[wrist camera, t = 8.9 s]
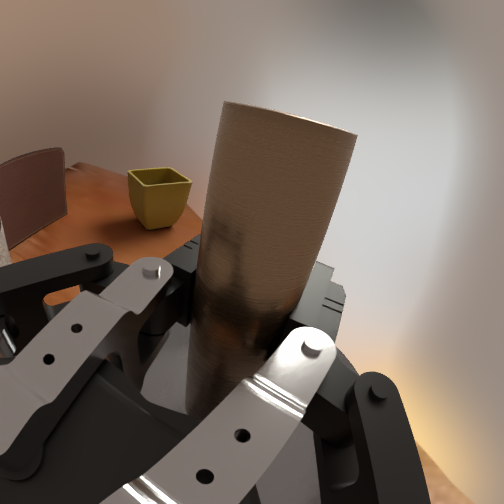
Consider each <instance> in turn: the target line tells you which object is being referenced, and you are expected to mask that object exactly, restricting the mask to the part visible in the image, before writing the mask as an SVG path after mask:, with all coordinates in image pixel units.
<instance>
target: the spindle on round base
mask: <svg viewBox="0 0 504 504" xmlns="http://www.w3.org/2000/svg"><path fill="white" fill-rule="evenodd" d="M356 139H357V135H356V134H353V133H351V132H348V131H346V130H343V129H340V128H336V127H334V126H331V125H328V124H324V123H321V122H318V121H314V120H311V119H307V118H304V117H300V116H296V115H293V114H289V113H285V112H280V111H276V110H272V109H267V108H262V107H257V106H252V105H247V104H241V103H235V102H227V101H224V103H223V108H222V113H221V118H220V123H219V128H218V133H217V138H216V144H215V149H214V155H213V160H212V166H211V172H210V178H209V184H208V190H207V196H206V202H205V209H204V216H203V223H202V230H201V237H200V244H199V252H198V260H197V268H196V276H195V285H194V294H193V303H192V313H191V323H190V324H189V325H188V326H187V327H185V326H183V325H181V324H179V323H177V322H176V323H175V324H174V325H173V326H172V327H171V334H170V336H169V338H168V339H167V341H166V343H165V344H164V346H163V347H162V349H161V350H160V352H159V353H158V355H157V357H156V358H155V360H154V361H153V363H152V364H151V366H150V368H149V369H148V371H147V373H146V375H145V378H144V382H143V387H142V390H141V392H140V393H141V394H142V395H143V397H144V398H145V399H146V400H148V401H149V402H151V403H154V404H157V405H159V406H162V407H165V408H168V409H171V410H174V411H177V412H180V413H183V414H186V415H189V416H192V417H194V418H196V419H197V420H199V421H201V422H202V421H203V420H204V419H205V418H206V417H207V416H208V415H209V414H210V413H211V412H212V411H213V410H214V409H215V408H216V407H217V406H218V405H219V404H220V403H221V402H222V401H223V400H224V399H225V398H226V397H227V396H228V395H229V394H230V393H231V392H232V391H233V390H234V389H235V388H236V386H237V385H238V384H239V383H240V382H241V381H242V380H243V379H245V378H246V377H247V376H251V377H253V376H254V375H255V374H256V373H257V372H258V371H259V370H260V368H261V367H262V366H263V365H264V364H265V363H266V362H267V360H268V359H269V358H270V357H271V356H272V355H273V353H274V352H275V351H276V348H277V346H278V344H279V341H280V339H281V337H282V334H283V332H284V330H285V327H286V325H287V322H288V320H289V318H290V316H291V314H292V312H293V310H294V309H295V308H296V307H297V305H298V304H299V302H300V299H301V297H302V294H303V292H304V289H305V287H306V284H307V282H308V279H309V277H310V274H311V272H312V269H313V266H314V264H315V261H316V259H317V256H318V253H319V250H320V248H321V245H322V242H323V240H324V237H325V234H326V231H327V229H328V226H329V223H330V220H331V217H332V214H333V211H334V209H335V205H336V202H337V200H338V197H339V194H340V191H341V188H342V185H343V182H344V178H345V175H346V172H347V169H348V166H349V163H350V159H351V156H352V153H353V150H354V146H355V143H356ZM336 350H337V353H336V354H337V356H338V358H339V360H340V361H341V362H342V363H343V364H344V365H345V366H346V367H347V368H348V369H350V370H351V371H353V372H354V373H355V374H357V375H358V376H359V374H358V373H357V371H356V370H355V368H354V367H353V365H352V364H351V363H350V362H349V360H348V359H347V358H346V357H345V355H344V354H343V353H342V352H341V351H340V350H339V349H338V348H337V347H336ZM255 484H256V487H257V490H258V494H259V498H260V501H261V504H321V498H320V489H319V480H318V471H317V463H316V455H315V447H314V439H313V431H312V430H310V429H309V428H308V427H307V426H305V425H304V424H303V423H301V422H299V424H298V425H297V427H296V428H295V430H294V431H293V433H292V434H291V436H290V437H289V439H288V440H287V442H286V443H285V444H284V446H283V447H282V449H281V450H280V452H279V453H278V454H277V456H276V457H275V459H274V460H273V461H272V463H271V464H270V465H269V467H268V468H267V469H266V471H265V472H264V473H263V474H262V476H261V477H260V478H259V480H258V481H257V482H256V483H255Z"/></svg>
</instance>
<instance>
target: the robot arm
mask: <svg viewBox="0 0 504 504" xmlns="http://www.w3.org/2000/svg"><path fill="white" fill-rule="evenodd" d="M200 237H201V234H199V235H197V236H196V237H194V238H193V239H191V240H190V241H188V242H187V243H185V244H184V246H181V247H179V248H178V249H176V250H175V251H173V252H172V253H170V254H169V255H167V256H166V257H164V258H163V259H161V258H156V257H145V258H141V259H138V260H136V261H135V262H133V263H132V264H131V265H127V264H123V263H119V262H115V261H113V251H112V249H111V248H110V247H109V246H107V245H104V244H99V243H93V244H87V245H83V246H79V247H75V248H71V249H67V250H62V251H59V252H55V253H51V254H47V255H43V256H39V257H35V258H31V259H28V260H24V261H20V262H17V263H13V264H10V265H6V266H2V267H0V504H261V501H260V498H259V494H258V490H257V487H256V484H255V483H256V482H257V481H258V480H259V478H260V477H261V476H262V474H263V473H264V472H265V471H266V469H267V468H268V467H269V465H270V464H271V463H272V461H273V460H274V459H275V457H276V456H277V454H278V453H279V452H280V450H281V449H282V447H283V446H284V444H285V443H286V442H287V440H288V439H289V437H290V436H291V434H292V433H293V431H294V430H295V428H296V427H297V425H298V424H299V422H301V423H303V424H304V425H305V426H307V427H308V428H309V429H310V430H312V431H313V439H314V447H315V455H316V463H317V471H318V480H319V489H320V498H321V504H431V502H430V498H429V493H428V489H427V485H426V480H425V476H424V472H423V469H422V465H421V461H420V457H419V454H418V450H417V447H416V444H415V440H414V437H413V434H412V430H411V427H410V424H409V421H408V418H407V415H406V412H405V409H404V406H403V403H402V400H401V397H400V394H399V392H398V389H397V387H396V386H395V384H394V383H393V382H392V381H391V380H390V379H389V378H388V377H387V376H385V375H383V374H381V373H378V372H366V373H363V374H361V375H360V376H358V375H357V374H355V373H354V372H353V371H351V370H350V369H348V368H347V367H346V366H345V365H344V364H343V363H342V362H341V361H340V360H339V358H338V356H337V354H336V353H337V350H336V346H335V340H336V336H337V332H338V328H339V324H340V320H341V315H342V311H343V307H344V303H345V298H346V294H345V292H344V289H343V286H341V285H339V284H336V283H334V282H331V277H332V274H333V271H334V268H332V267H330V266H327V265H325V264H322V263H320V262H318V261H316V263H315V266H314V267H313V270H312V272H311V274H310V277H309V279H308V282H307V284H306V287H305V289H304V292H303V294H302V297H301V299H300V302H299V304H298V305H297V307H296V308H295V309H294V310H293V312H292V314H291V316H290V318H289V320H288V322H287V325H286V327H285V330H284V332H283V334H282V337H281V339H280V341H279V344H278V346H277V348H276V351H275V352H274V353H273V355H272V356H271V357H270V358H269V359H268V360H267V362H266V363H265V364H264V365H263V366H262V367H261V368H260V370H259V371H258V372H257V373H256V374H255V375H254V376H253V377H251V376H247V377H246V378H245V379H243V380H242V381H241V382H240V383H239V384H238V385H237V386H236V388H235V389H234V390H233V391H232V392H231V393H230V394H229V395H228V396H227V397H226V398H225V399H224V400H223V401H222V402H221V403H220V404H219V405H218V406H217V407H216V408H215V409H214V410H213V411H212V412H211V413H210V414H209V415H208V416H207V417H206V418H205V419H204V420H203V421H202V422H201V421H199V420H197V419H196V418H194V417H192V416H189V415H186V414H183V413H180V412H177V411H174V410H171V409H168V408H165V407H162V406H159V405H157V404H154V403H151V402H149V401H148V400H146V399H145V398H144V397H143V395H142V394H141V393H140V392H141V390H142V387H143V382H144V378H145V375H146V373H147V371H148V369H149V368H150V366H151V364H152V363H153V361H154V360H155V358H156V357H157V355H158V353H159V352H160V350H161V349H162V347H163V346H164V344H165V343H166V341H167V339H168V338H169V336H170V334H171V327H172V326H173V325H174V324H175V323H176V322H177V323H179V324H181V325H183V326H185V327H187V326H188V325H189V324H190V323H191V313H192V303H193V294H194V285H195V276H196V268H197V260H198V252H199V244H200ZM76 285H79V287H80V292H81V293H80V294H78V295H77V296H76V297H75V298H74V299H73V300H71V301H68V302H65V303H61V304H58V305H55V306H49V305H47V304H46V303H45V301H44V299H43V298H44V297H45V296H46V295H47V294H49V293H52V292H55V291H59V290H62V289H66V288H69V287H73V286H76ZM14 356H17V357H14Z"/></svg>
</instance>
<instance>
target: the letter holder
mask: <svg viewBox="0 0 504 504" xmlns="http://www.w3.org/2000/svg"><path fill="white" fill-rule="evenodd" d="M64 163H65V162H64V151H63V150H62V148H49V149H43V150H38V151H34V152H30V153H27V154H24V155H21V156H18V157H15V158H13V159H11V160H9V161H6V162H5V163H3V164H1V165H0V217H1V221H2V225H3V230H4V234H5V239H6V243H7V247H8V251H10V250H11V249H12V248H14V247H15V246H17V245H18V244H20V243H21V242H23V241H24V240H26V239H27V238H29V237H30V236H32V235H33V234H35V233H37V232H38V231H40V230H41V229H43V228H45V227H46V226H48V225H49V224H51V223H53V222H54V221H56V220H58V219H59V218H61V217H63V216H65V215H66V214H67V204H66V187H65V164H64Z"/></svg>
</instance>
